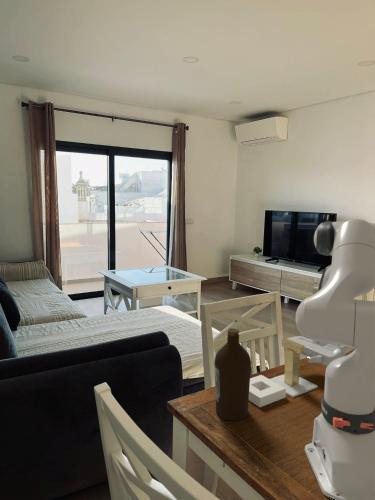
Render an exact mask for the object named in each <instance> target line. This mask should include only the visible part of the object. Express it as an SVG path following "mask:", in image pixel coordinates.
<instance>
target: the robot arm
mask: <svg viewBox="0 0 375 500" xmlns="http://www.w3.org/2000/svg"><path fill="white" fill-rule="evenodd" d="M313 244H314V246H315V249H316V251H317V253H319V255H323V256H327V257H329V256H331V264H329V265H328V266H326V267H325V269H324V270H323V271H322V274H321V277H320V281H319V285H318V289H317V292H316V293H314V294H311V295H310V296H308V297H306V298H304V299H303V300H302V301H301V302H300V304H299V305H298V306H297V309H296V312H295V324H296V327H297V329H298V332H299V333H300V335H298V336H290V337H287V339H289V340H292V341H294V342H297V343H299V344H302V345H304V346H305V350H304V353H302V354H301V356H304V357H306V362H307V363H309V364H313V363H314V364H315V363H316V364H317V363H318V364H322V365H325V366H326V368H325V373H324V374H325V376H324V390H323V393H324V394H323V395H322V397H321V398H322V399H321V402H320V403H321V404H320V405H321V407H320V408H321V411H320V414H319V415H318V416H317V417H316V418H314V421H313V429H312V430H313V432H312V440H311V442H310V443H308V444H306V445H304V452H305V455H306V456H307V459H308V462H309V464H310V467H311V469H312V471H313V473H314V476H315V478H316V481H317V483H318V486H319V488H320V490H321V492H322V494H323V495H324V496H326V497H328V498H329V497H330V498H329V499H331V498H332V499H331V500H333V499H335V500H375V301H374V300H365V299H364V300H363V299H362V300H361V299H355V298H357V297H361V296H363V295H366V294H369V293H370V292H371V291H372V290H374V289H375V223H373V222H369V221H367V220H364V219H361V218H351V219H348V220H341V221H332V220H329V221H324V222H321V223H320V224H318V226H317V228H316V229H315V231H314V235H313ZM350 351H352V352H350ZM349 352H350V353H349ZM347 353H349V354H348V355H346V354H347ZM337 495H338V496H337Z"/></svg>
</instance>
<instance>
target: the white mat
mask: <svg viewBox="0 0 375 500" xmlns="http://www.w3.org/2000/svg"><path fill="white" fill-rule="evenodd" d="M269 379H270V380H272V381H273V382H275V383H277V384H279V385H280V386H282V387H284V388H286V396H287V395H288V396H290V397H291V398H295V397H297V396H300V395H303V394H304V393H308V392H310V391H313V390H316V389H318V388H319V387H318V385H317V384H314V383H313V382H311V381H308V380H307V379H304V378H303V377H301V376H299V384H297V385H295V386H290V385H288V384H286V383H285V382H284V374H280V375H277V376H274V377H271V378H269Z"/></svg>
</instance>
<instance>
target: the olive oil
mask: <svg viewBox="0 0 375 500" xmlns="http://www.w3.org/2000/svg"><path fill="white" fill-rule="evenodd" d="M239 333H240V330H239V329H237V328H232V327H231V328H228V329H227V335H226V337H227V338H226V339H227V342H225V344H224V345H222V346H221V348H219V349H218V351H217V352H216V354H215V358H214V362H213V363H214V364H213V365H214V382H215V383H214V387H215V388H214V389H215V390H214V391H215V412H216V414H217V415H218V416H219V417H220V418H222V419H223V420H227V421H240V420H243V419H244V418H246V417H247V415H248V413H249V402H250V401H249V386H250V378H251V374H252V373H251V372H252V360H251V356H250V353H249V352H248V351H247V350H246V349H245V347H243V345H241V344H240V334H239Z"/></svg>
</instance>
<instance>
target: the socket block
mask: <svg viewBox="0 0 375 500" xmlns="http://www.w3.org/2000/svg"><path fill="white" fill-rule="evenodd" d="M270 379H271V378H268V377H266V376H264V374H263V375H262V374H259V375H257V376H254V377H250V386H249V401H248V402H251V403H253V404H254V405H255V406H257V407H258V408H262V407H264V406H268V405H269V404H272V403H274V402H277V401H280V400H283V399H285V398H286V396H287V394H286V388H284V387H282V386H280V385H279V384H277V383H275V382H273V381H272V380H270Z"/></svg>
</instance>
